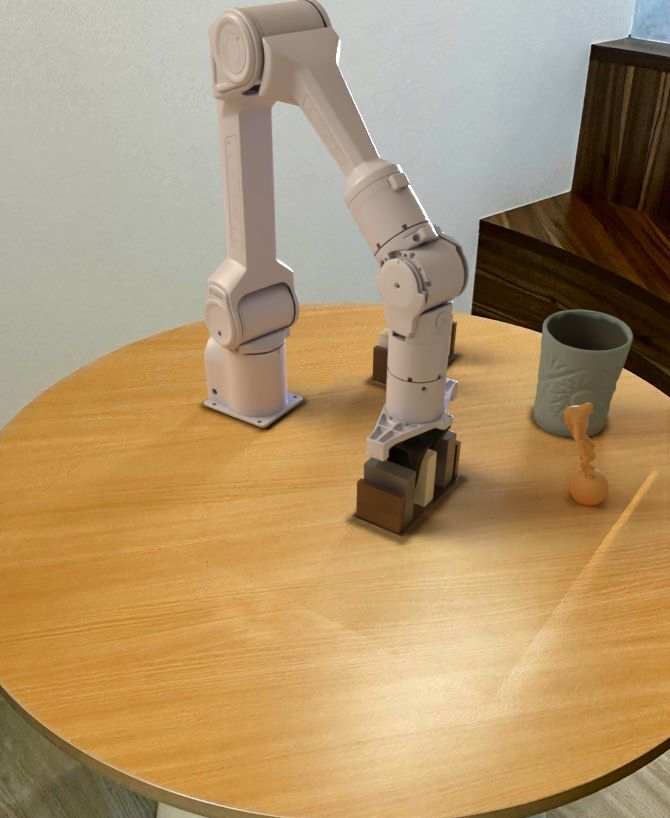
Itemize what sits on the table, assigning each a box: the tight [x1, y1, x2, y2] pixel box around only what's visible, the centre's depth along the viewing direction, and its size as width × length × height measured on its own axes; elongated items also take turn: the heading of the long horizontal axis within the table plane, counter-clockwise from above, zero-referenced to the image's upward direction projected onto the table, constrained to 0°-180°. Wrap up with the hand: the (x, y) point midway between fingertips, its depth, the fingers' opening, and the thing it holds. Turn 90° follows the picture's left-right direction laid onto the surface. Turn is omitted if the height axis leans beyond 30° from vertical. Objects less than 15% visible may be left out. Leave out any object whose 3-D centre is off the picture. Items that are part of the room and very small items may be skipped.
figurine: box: [564, 403, 610, 507], centre depth 91 cm, size 8×6×12 cm
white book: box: [386, 449, 437, 507], centre depth 92 cm, size 5×2×6 cm, turn 57°
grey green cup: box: [533, 309, 634, 439], centre depth 103 cm, size 10×10×12 cm
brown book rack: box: [351, 429, 462, 538], centre depth 92 cm, size 6×13×7 cm, turn 147°
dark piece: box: [368, 312, 458, 386], centre depth 114 cm, size 6×13×7 cm, turn 147°
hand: (409, 484), depth 93 cm, fingers closed on white book, 2 cm apart
